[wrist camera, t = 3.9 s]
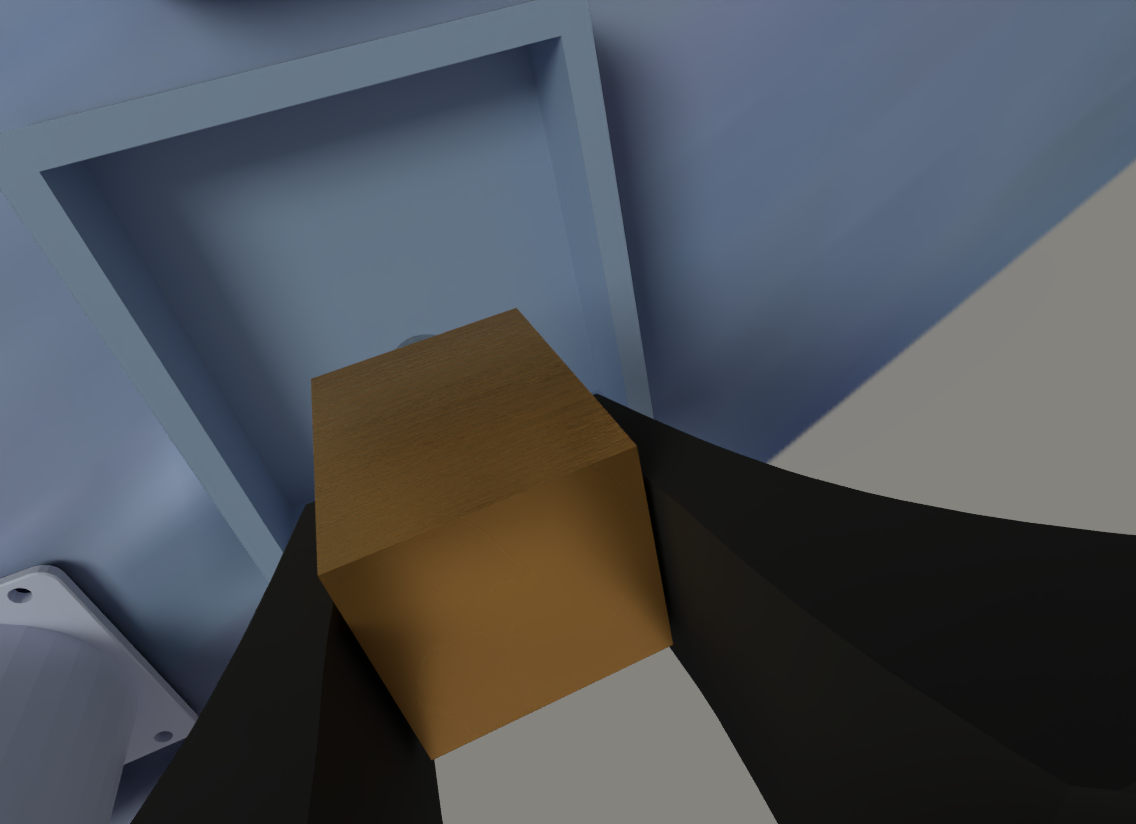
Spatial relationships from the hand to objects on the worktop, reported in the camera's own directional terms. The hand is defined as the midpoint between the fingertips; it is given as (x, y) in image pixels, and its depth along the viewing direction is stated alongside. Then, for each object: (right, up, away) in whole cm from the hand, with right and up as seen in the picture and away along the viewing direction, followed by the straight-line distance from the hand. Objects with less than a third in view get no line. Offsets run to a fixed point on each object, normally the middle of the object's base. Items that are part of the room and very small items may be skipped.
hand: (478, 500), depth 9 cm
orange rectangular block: (-1, +2, +3) cm, 4 cm away
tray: (-3, +5, +8) cm, 10 cm away
